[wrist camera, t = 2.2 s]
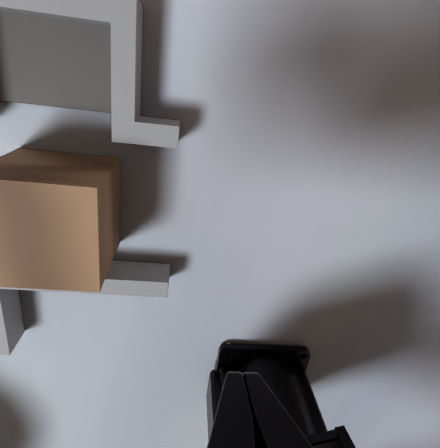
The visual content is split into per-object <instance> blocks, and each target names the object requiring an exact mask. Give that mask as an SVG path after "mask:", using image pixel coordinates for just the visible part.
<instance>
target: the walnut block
mask: <svg viewBox="0 0 440 448" xmlns="http://www.w3.org/2000/svg"><path fill="white" fill-rule="evenodd" d="M119 243H120V158H117V157H107V156H97V155H87V154H77V153H66V152H56V151H46V150H36V149H26V148H18V149H16V150H14V151H12V152H10V153H7V154H5V155H3V156H1V157H0V287H8V288H27V289H47V290H67V291H86V292H100V291H101V288H102V286H103V283H104V281H105V278H106V276H107V273H108V271H109V268H110V266H111V263H112V261H113V258H114V256H115V253H116V251H117V248H118V246H119Z"/></svg>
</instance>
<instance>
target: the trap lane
mask: <svg viewBox="0 0 440 448" xmlns="http://www.w3.org/2000/svg"><path fill="white" fill-rule="evenodd" d="M142 29H143V4H142V3H141V2H140V1H139V0H0V101H9V102H17V103H26V104H35V105H44V106H53V107H62V108H70V109H79V110H88V111H97V112H106V113H111V124H112V142H119V143H128V144H138V145H148V146H157V147H167V148H177V149H178V144H179V134H180V120H173V119H164V118H155V117H146V116H140V111H141V70H142ZM169 275H170V264H164V263H149V262H133V261H117V260H113V261H112V263H111V266H110V268H109V271H108V273H107V276H106V278H105V281H104V283H103V286H102V288H101V291H100V292H86V291H67V290H47V289H27V288H8V287H0V355H10V354H11V352H12V351H13V349H14V347H15V346H16V344H17V343H18V341H19V339H20V338H21V336H22V335H23V333H24V324H23V317H22V310H21V303H20V296H19V290H33V291H52V292H72V293H91V294H111V295H130V296H150V297H167V295H168V285H169Z"/></svg>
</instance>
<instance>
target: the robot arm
mask: <svg viewBox="0 0 440 448" xmlns="http://www.w3.org/2000/svg"><path fill="white" fill-rule="evenodd" d="M224 351H228V352H224ZM303 353H304V354H303ZM309 359H310V352H309V350H308V348H307V347H302V346H275V345H247V344H223V345H221V346H220V347H219V351H218V357H217V364H216V370H212V371H211V372H210V376H209V383H208V389H207V418H208V439H209V442H208V446H207V448H355V446H354V444H353V442H352V440H351V438H350V436H349V434H348V432H347V430H346V429H345V427H344V425H343V426H339V427H335V429H334V430H330V431H327V428H326V426H325V423H324V420H323V418H322V415H321V412H320V410H319V407H318V404H317V402H316V399H315V396H314V393H313V391H312V388H311V385H310V383H309V380H308V377H307V375H306V369H307V365H308V362H309Z"/></svg>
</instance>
